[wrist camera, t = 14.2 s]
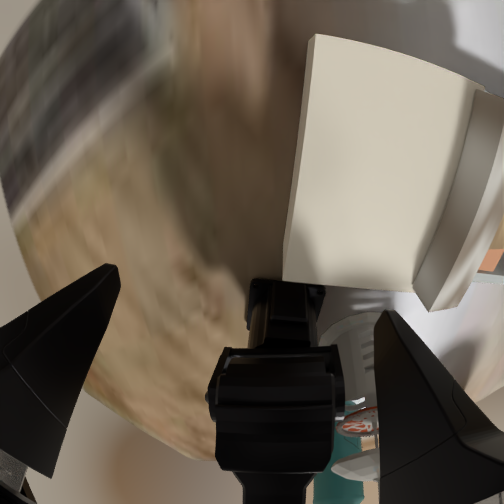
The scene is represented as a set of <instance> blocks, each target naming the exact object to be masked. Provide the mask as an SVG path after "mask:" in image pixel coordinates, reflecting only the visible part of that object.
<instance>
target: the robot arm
mask: <svg viewBox="0 0 504 504" xmlns="http://www.w3.org/2000/svg"><path fill="white" fill-rule="evenodd" d="M254 284H258V285H254ZM120 288H121V282H120V277H119V272H118V267H117V266H116V265H113V264H108V263H105V264H103V265H102V266H100V267H98V268H96V269H95V270H93V271H91V272H90V273H88V274H86V275H84V276H83V277H81V278H79V279H78V280H76V281H74V282H73V283H71V284H69V285H68V286H66V287H64V288H63V289H61V290H60V291H58V292H56V293H55V294H53V295H51V296H50V297H48V298H47V299H45V300H44V301H42V302H40V303H39V304H37V305H36V306H34V307H33V308H31V309H29V310H28V311H26V312H25V313H23V314H22V315H20V316H19V317H17V318H15V319H14V320H12V321H11V322H9V323H7V324H6V325H4V326H2V327H0V504H37V502H36V500H35V498H34V496H33V493H32V491H31V489H30V487H29V484H28V482H27V479H26V477H25V475H26V472H27V469H28V467H30V468H32V469H33V470H35V471H37V472H39V473H41V474H43V475H45V476H46V477H48V478H50V479H51V478H52V476H53V473H54V469H55V465H56V462H57V459H58V456H59V452H60V449H61V445H62V443H63V440H64V437H65V434H66V431H67V429H66V428H67V427H68V424H69V421H70V418H71V415H72V413H73V410H74V407H75V404H76V402H77V399H78V396H79V394H80V391H81V389H82V386H83V383H84V381H85V378H86V376H87V373H88V371H89V369H90V366H91V364H92V361H93V359H94V357H95V354H96V352H97V350H98V347H99V345H100V343H101V340H102V338H103V336H104V334H105V331H106V329H107V327H108V324H109V321H110V318H111V315H112V312H113V309H114V306H115V303H116V300H117V297H118V294H119V292H120ZM318 291H321V292H318ZM325 294H326V290H325V287H324V286H321V285H312V284H302V283H292V282H283V281H273V280H264V279H253V280H252V281H251V283H250V293H249V305H248V316H247V329H248V330H249V331H250V332H249V340H248V348H232V347H224V350H223V352H222V355H220V358H219V360H218V363H217V365H216V368H215V370H214V373H213V375H212V378H211V380H210V383H209V385H208V391H207V392H206V394H205V400H206V402H207V403H208V404H209V412H210V416H211V419H212V420H213V421H214V422H216V447H215V457H216V460H217V462H218V464H219V465H220V468H221V469H222V470H224V471H232V472H233V474H234V475H235V477H236V478H237V479H238V481H239V482H240V483H241V485H242V487H243V504H305V502H306V488H307V486H308V485H309V484H310V482H311V481H312V480H313V478H314V477H315V476H316V475H317V473H322V472H323V471H324V470H325V468H326V466H327V465H328V463H329V461H330V460H331V454H332V452H333V449H334V430H335V422H343V419H344V414H345V383H344V376H343V370H342V365H341V360H340V355H339V350H338V345H337V344H330V346H318V343H317V327H316V322H317V319H318V316H319V313H320V310H321V307H322V303H323V300H324V297H325ZM373 337H374V376H375V386H376V398H377V411H378V426H379V450H380V477H381V478H380V500H379V504H504V432H503V431H501V430H499V429H498V428H497V427H496V426H495V425H494V424H493V423H492V422H491V421H490V420H489V418H488V417H487V416H486V415H485V414H484V413H483V412H482V411H481V410H480V409H479V407H478V406H477V405H476V404H475V403H474V402H473V401H472V400H471V398H470V397H469V396H468V395H467V394H466V393H465V391H464V390H463V389H462V388H461V387H460V385H459V384H458V383H457V382H456V380H454V378H453V377H452V375H451V374H450V373H449V372H448V371H447V369H446V368H445V367H444V366H443V364H442V363H441V362H440V361H439V360H438V358H437V357H436V356H435V355H434V354H433V353H432V351H431V350H430V349H429V348H428V347H427V345H426V344H425V343H424V342H423V341H422V340H421V338H420V337H419V336H418V335H417V334H416V333H415V332H414V330H413V329H412V328H411V327H410V326H409V325H408V324H407V323H406V321H405V320H404V319H403V318H402V317H401V316H400V315H399V314H398V313H397V312H396V311H395V310H389V309H385V310H384V311H383V312H382V313H381V315H380V317H379V319H378V320H377V322H376V324H375V326H374V330H373Z"/></svg>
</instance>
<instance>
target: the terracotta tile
mask: <svg viewBox="0 0 504 504" xmlns="http://www.w3.org/2000/svg"><path fill="white" fill-rule="evenodd" d="M503 252H504V249H488V251H487V253H486V255H485V257H484V259H483V261H482V263H481V265H480V267H479V269H478V270H484V271H491V272H493V271H494V269H495V267H496V266H497V264H498V262H499V260H500V258H501V256H502V254H503Z"/></svg>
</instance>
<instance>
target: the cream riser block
mask: <svg viewBox="0 0 504 504" xmlns="http://www.w3.org/2000/svg"><path fill="white" fill-rule="evenodd" d="M476 89H479V90H482V91H484V89H485V86H483V85H481V84H478V83H476V82H474V81H472V80H470V79H468V78H466V77H463V76H461V75H459V74H457V73H454V72H452V71H449V70H447V69H445V68H442V67H440V66H437V65H434V64H432V63H429V62H426V61H423V60H421V59H418V58H415V57H412V56H409V55H406V54H402V53H399V52H396V51H393V50H389V49H386V48H382V47H378V46H374V45H370V44H366V43H362V42H358V41H353V40H349V39H344V38H339V37H334V36H328V35H322V34H315V35H314V36H313V37H312V38H311V39H310V40H309V41H308V48H307V58H306V68H305V78H304V87H303V96H302V105H301V114H300V122H299V130H298V139H297V147H296V154H295V162H294V170H293V177H292V185H291V192H290V199H289V207H288V214H287V221H286V227H285V234H284V241H283V278H282V281H291V282H301V283H311V284H321V285H331V286H342V287H352V288H363V289H375V290H387V291H399V292H412V293H415V291H414V290H413V288H412V286H413V284H414V282H415V280H416V278H417V276H418V273H419V271H420V269H421V267H422V265H423V262H424V260H425V258H426V255H427V253H428V251H429V248H430V246H431V244H432V241H433V239H434V236H435V234H436V231H437V229H438V226H439V223H440V221H441V218H442V215H443V213H444V210H445V207H446V204H447V201H448V198H449V195H450V192H451V189H452V186H453V183H454V180H455V177H456V173H457V170H458V167H459V163H460V160H461V156H462V152H463V149H464V145H465V141H466V137H467V132H468V128H469V124H470V119H471V114H472V109H473V104H474V99H475V93H476Z"/></svg>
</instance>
